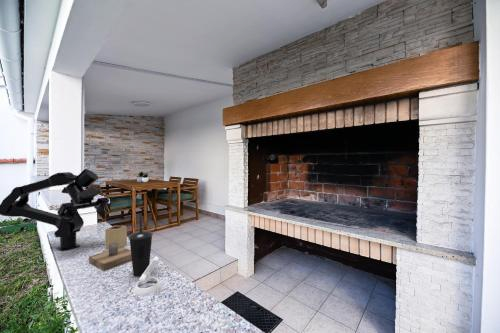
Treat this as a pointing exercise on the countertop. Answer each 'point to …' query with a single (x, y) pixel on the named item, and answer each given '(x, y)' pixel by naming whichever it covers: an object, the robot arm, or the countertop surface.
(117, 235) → the collar
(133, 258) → the drinking cup
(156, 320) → the countertop surface
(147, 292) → the hook
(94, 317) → the countertop surface
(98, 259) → the post stand
